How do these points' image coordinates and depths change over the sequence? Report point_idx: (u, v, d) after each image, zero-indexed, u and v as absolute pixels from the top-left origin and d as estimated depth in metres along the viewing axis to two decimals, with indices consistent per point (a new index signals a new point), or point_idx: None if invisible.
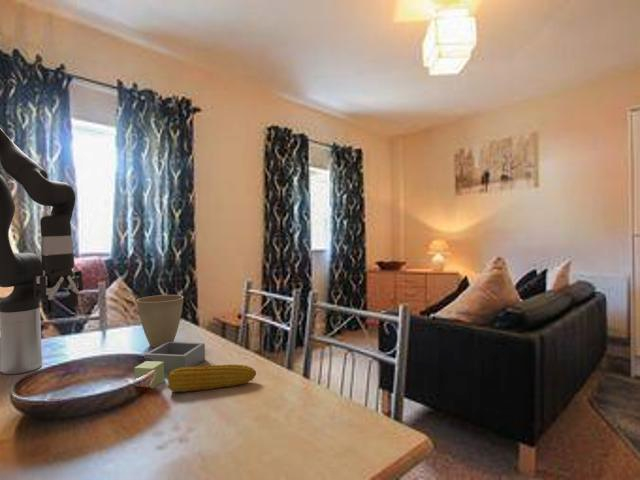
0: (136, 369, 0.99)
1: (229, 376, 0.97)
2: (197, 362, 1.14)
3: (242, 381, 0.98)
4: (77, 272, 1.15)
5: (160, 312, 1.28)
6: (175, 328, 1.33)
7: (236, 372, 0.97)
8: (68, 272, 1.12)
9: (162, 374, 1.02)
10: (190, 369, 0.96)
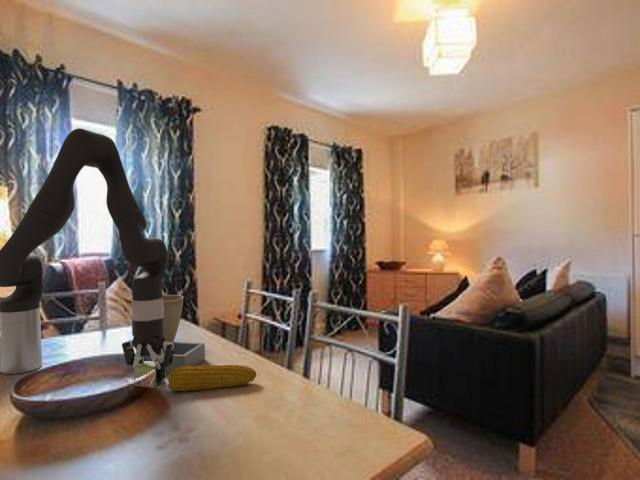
0: (136, 369, 0.99)
1: (228, 377, 0.96)
2: (197, 362, 1.14)
3: (242, 382, 0.98)
4: None
5: None
6: (175, 328, 1.33)
7: (235, 373, 0.97)
8: None
9: None
10: (190, 369, 0.96)
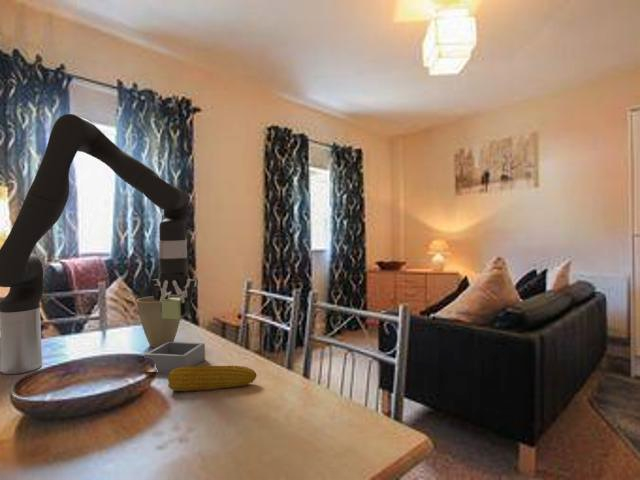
0: (163, 302, 1.11)
1: (228, 378, 0.96)
2: (197, 362, 1.14)
3: (242, 383, 0.97)
4: None
5: (160, 312, 1.28)
6: (175, 328, 1.33)
7: (235, 374, 0.97)
8: None
9: None
10: (190, 369, 0.96)
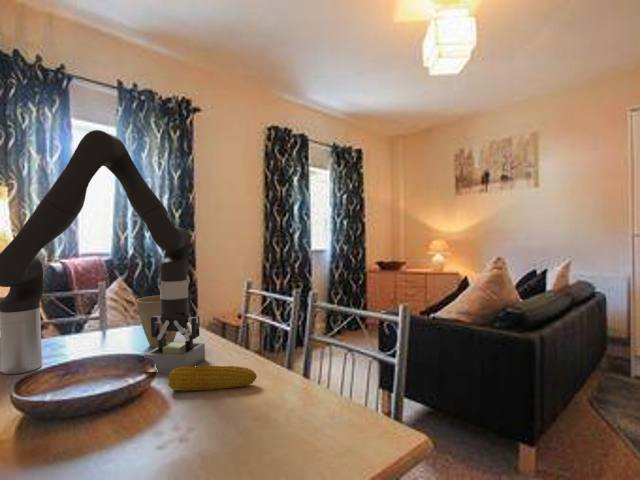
0: (164, 349, 1.11)
1: (227, 378, 0.96)
2: (197, 362, 1.14)
3: (241, 384, 0.97)
4: None
5: (160, 312, 1.28)
6: None
7: (235, 374, 0.96)
8: None
9: None
10: (190, 369, 0.96)
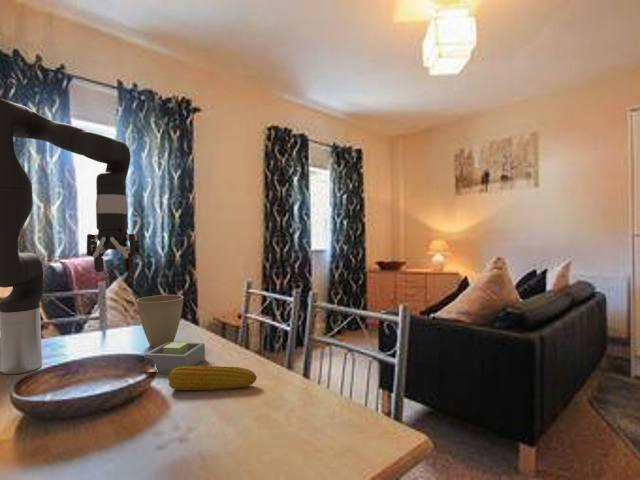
0: (164, 349, 1.11)
1: (227, 379, 0.95)
2: (197, 362, 1.14)
3: (241, 384, 0.96)
4: (96, 235, 1.08)
5: (160, 312, 1.28)
6: (175, 328, 1.33)
7: (234, 375, 0.96)
8: None
9: None
10: (190, 368, 0.96)
